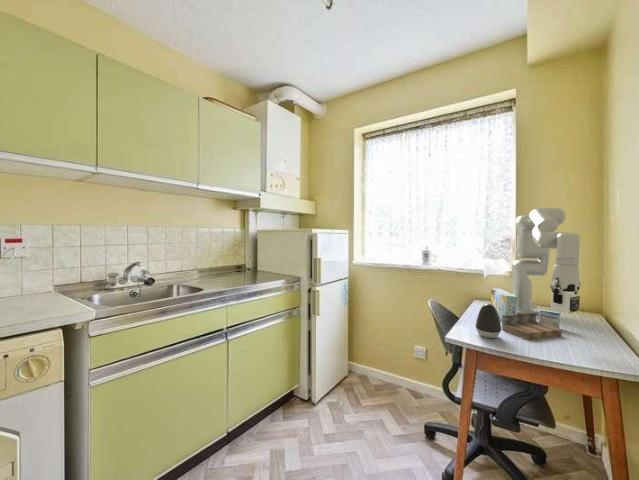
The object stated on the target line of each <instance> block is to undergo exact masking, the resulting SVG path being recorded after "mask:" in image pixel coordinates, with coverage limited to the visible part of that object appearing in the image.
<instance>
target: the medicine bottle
mask: <svg viewBox="0 0 639 480" xmlns="http://www.w3.org/2000/svg"><path fill="white" fill-rule="evenodd" d="M558 287H561V286H558ZM559 290H560V289H558V291H559ZM574 293H575V285H574V284H570V285H568V287H567V289H563V292H562V294H561V295H562V304H558V303H554V302H553V296H554V293H553V292H552V293H551V294H550V295H551V296H550V310H552V311H557V312H562V313H566V314H573V313H577V312H579V311H580V298H581V297H580V294H578V293H576V294H574Z"/></svg>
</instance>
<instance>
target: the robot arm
mask: <svg viewBox="0 0 639 480" xmlns="http://www.w3.org/2000/svg"><path fill="white" fill-rule="evenodd" d="M565 219H566V212H565V211H564V209H562V208H559V207H538V208H535V209H533V210H531V211H530V212H529V214H524V215H519V216H517V217H516V219H515V229H516V232H517V240H516V256H517V257H518V258H522V259H515V260H513V261H512V263H511V271H512V295H514V296H517V309H516V314H521V313H532V312H534V313H535V310H533V309H538V306H537V304H532V301H533V281H531V280H530V279H529V276H531V277H532V276H533V277H544V276H546V275H547V273H548V270H549V265H550V264H549V263H550V256H551V255H550V254H551V249H553V250H555V264H554V265H553V269H552V273H551V274H552V275H551V283H550V284H549V288H550V289H551V291H552V293H554V296H553V302H554V303H558V304H562V295H561V294H562V292H563V289H567V287H568V285H570V284H574V285H575V293H574V294H579V290H580V287H582V282H581V281H580V268H579V264H580V263H579V262H580V248H581V247H580V244H581V236H580V234H579V233H575V232H568V231H566V232H565V231H563V232H562V231H560V232H559V231H556V230H558V229H559V226H561V225H562V224H563V223H564V222H565ZM558 286H561V287H558ZM558 289H560V290H559V291H558Z"/></svg>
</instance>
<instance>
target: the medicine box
mask: <svg viewBox="0 0 639 480" xmlns="http://www.w3.org/2000/svg"><path fill="white" fill-rule="evenodd" d="M538 322H539V323H542V324H545V325H549V326H552V327H555V328H558V329H561V328H560V327H561V326H560V323H561V311H557V310H551V309H550V310H549V309H542V308H541V309H540V310H539V321H538Z"/></svg>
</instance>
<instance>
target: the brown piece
mask: <svg viewBox="0 0 639 480" xmlns="http://www.w3.org/2000/svg"><path fill="white" fill-rule="evenodd" d="M537 315H538V314H537V312H535V311H534V312H532V313H521V314H520V313H516V314H510V315H502V321H501V331H504V332H507V333H509V334H511V335H514V336H517V337H520V338H522V339H525V340H527V341H530V340H539V339H547V338H549V339H550V338H555V337H557V338H558V337H561V336H562V334H563V333H562V331H563V330H562V328H559V329H558V328H555V327H552V326H549V325H545V324H542V323H539V321H537Z"/></svg>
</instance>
